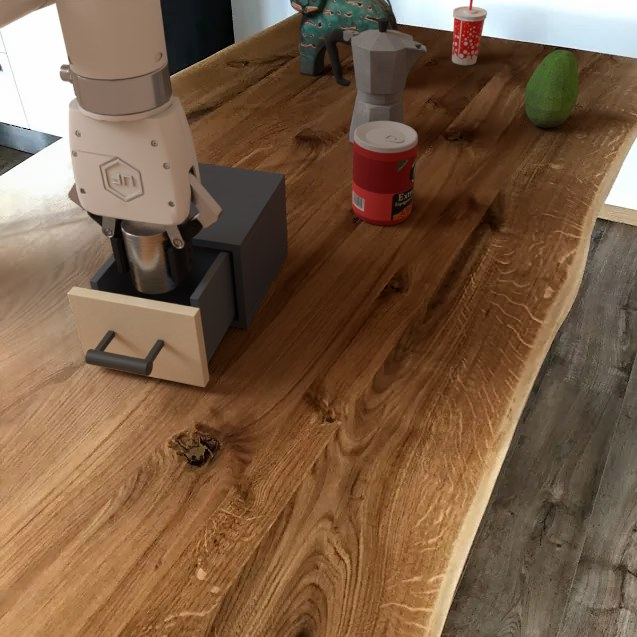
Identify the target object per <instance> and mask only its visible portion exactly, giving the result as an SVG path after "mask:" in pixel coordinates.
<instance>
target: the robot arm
mask: <svg viewBox="0 0 637 637" xmlns="http://www.w3.org/2000/svg"><path fill="white" fill-rule="evenodd" d="M52 5H55V7H56V11H57V15H58V20H59V24H60V28H61V34H62V38H63V42H64V46H65V51H66V57H67V60H68V64H66V63H65V64H61V65H60V68H59V77H60V80H61V81H63V82H65V83H70V84H71V85H72V88H73V92H74V96H75V98H73V99H71V100H70V101H69V104H68V140H69V141H68V143H69V151H70V161H71V165H72V167H71V168H72V174H73V178H74V183H73V184H72V186H71V188H70V190H69V191H68V194H67V197H68V198H69V200H70V201H71V202H73V203H75V204H76V205H77V206H78V207H80V208H81V209H82V210H83V211H86V213H87V215H88V216H89V217H90V218H91V219H92V220H93V221H94V222H95V223H96V224H97V225H99V226H100V227H101V232H102V234H103V236H104V237H106V238H109V242H110V245H111V249H112V254H113V255H114V259H115V260H116V262H117V266H118V271H119V273H121V274H126V273H128V272H129V271H130V268H129V263H128V259H127V254H126V249H125V244H124V239H123V234H122V229H121V222H122V220H129V221H136V222H143V223H149V224H156V225H164V226H165V229H166V231H167V233H168V236H169V238H170V240H171V242H172V243H171V244H170V246H169V247H168V249H167V252H168V258H169V265H170V271H171V277H172V281H174V283H181V281H182V280H183V279H184V277H185V276H186V274H187V273H188V272H190V271H191V270H192V268H193V266H194V254H193V247H192V238H193V237H195V236H196V235H197V234H198V233H199V232H200V231H201V230H203V229H204V228H207V227H208V226H210V225H212V224H213V223H215V222H216V221H217V220H218V219H219V218H220V216H221V215H222V213H223V210H222V208H221V207H220V206H219V205H218V203H217V202H216V201H215V200H214V199H213V197H212V196H211V195H210V194H209V193H208V191H207V190H206V189H205V188H204V187H203V185H202V184H201V180H200V173H199V167H198V163H199V162H198V157H197V152H196V148H195V143H194V140H193V134H192V130H191V128H190V125H189V122H188V119H187V115H186V112H185V109H184V106H183V105H182V104H183V103H182V101H181V99H180V97H178V96H175V95H173V89H172V88H173V87H172V80H171V72H170V67H169V59H168V52H167V45H166V44H167V43H166V38H165V37H166V36H165V29H164V21H163V14H162V7H161V0H0V30H1V29H3V28H5V27H6V26H8V25H10V24H13V23H14V22H17V21H18V20H20V19H22V18H24V17H26V16H28V15H29V14H31V13H34V12H37V11H39V10H42V9H44V8H47V7H50V6H52ZM190 204H193V205H194V206H195V207H196V208H197V209H198V211H199V213H197V214H195V215H194V216H193V217H191V215H190V213H189V211H190Z"/></svg>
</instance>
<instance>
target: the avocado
mask: <svg viewBox="0 0 637 637" xmlns="http://www.w3.org/2000/svg"><path fill="white" fill-rule="evenodd" d="M577 61H578V60H577V56H576V55H575V54H574V53H573V52H571V51H569V50H567V49H555V50H553V51H552V52H550V53H548V54H547V55H546V56H545V57H544V58H543V60H541V61H540V63H539V65H538V66H537V68H536V69H535V70H534V72H533V73H532V74H531V76H530V78H529V80H528V82H527V83H526V87H525V92H524V96H523V101H524V108H525V110H524V111H525V114H526V116H527V118H528V119H529V120H530V122H531V123H532V125H534V126H536V127H540V128H542V129H550V128H554V127H555V128H556V127H558V126H560V125H562V124H563V123H564V122H565V121H567V119H568V118H569V116H570V115H571V113H572V111H573V110H574V108H575V106H576V105H577V100H578V97H579V92H580V85H579V84H580V83H579V68H578V67H579V66H578V62H577Z"/></svg>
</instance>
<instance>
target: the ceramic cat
mask: <svg viewBox="0 0 637 637" xmlns="http://www.w3.org/2000/svg"><path fill="white" fill-rule="evenodd" d="M289 2H290V6H291V8H292V9H293V10H294V11H296V12H298V13H300V14H301V15H302V16H301V19H300V23H299V42H298V53H299V54H298V55H299V73H300V74H301V75H307V76H310V77H314V76H317V75H319V74H320V73H321V72H323V71H324V70H325V58H326V52H327V49H326V46H325V40H326V38H327V37H328V36H329V35H330V34H331V32H332V31H333V30H334V29H337V28H338V29H343V30H353V31H357V32H359V33H361V32H364V31H367V30H379V26H378V19H379V18H387V19H389V22H388V26H387V30H396V31H399V27H398V23H397V18H396V15H395V13H394V10H393V6H392V3H391V1H390V0H289Z"/></svg>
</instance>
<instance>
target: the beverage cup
mask: <svg viewBox="0 0 637 637" xmlns="http://www.w3.org/2000/svg"><path fill="white" fill-rule="evenodd" d="M473 2H474V0H469V5H468V6H467V5H466V6H457V7H455V8H454V9H452V17H453V32H452V50H451V62H452V63H453V64H456V65H459V66H472V65H475V64H476V63H477V59H478V55H479V51H480V45H481V39H482V34H483V30H484V25H485V19H487V16H488V11H487V10H486V9H484V8H482V7H478V6H473Z"/></svg>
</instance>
